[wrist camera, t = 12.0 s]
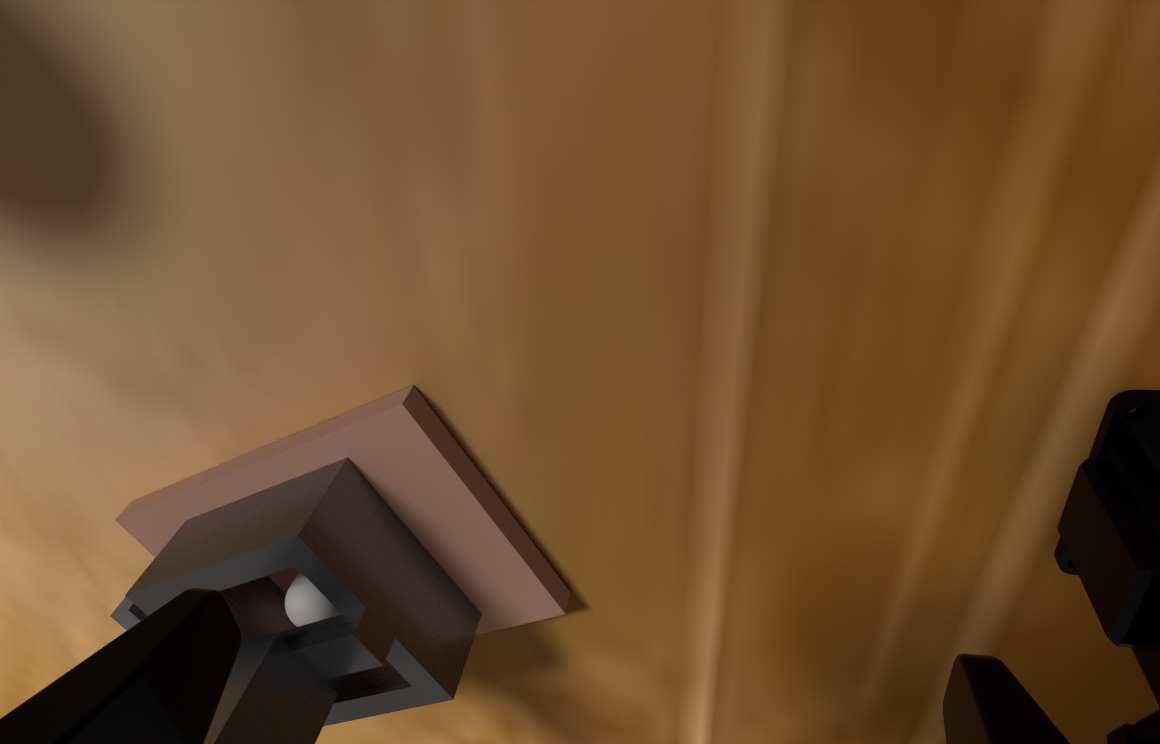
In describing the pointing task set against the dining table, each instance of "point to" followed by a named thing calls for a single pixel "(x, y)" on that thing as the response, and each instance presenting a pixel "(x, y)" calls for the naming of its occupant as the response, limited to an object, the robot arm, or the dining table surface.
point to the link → (346, 578)
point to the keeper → (408, 485)
